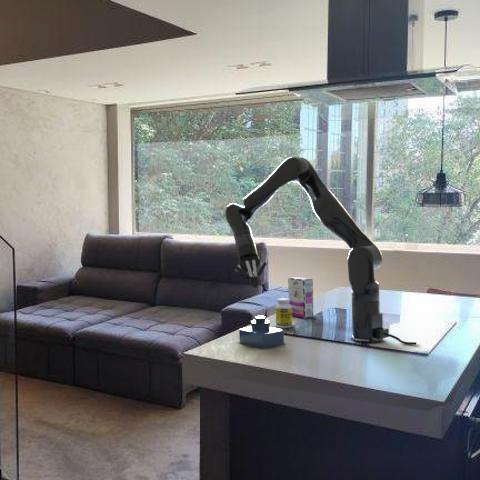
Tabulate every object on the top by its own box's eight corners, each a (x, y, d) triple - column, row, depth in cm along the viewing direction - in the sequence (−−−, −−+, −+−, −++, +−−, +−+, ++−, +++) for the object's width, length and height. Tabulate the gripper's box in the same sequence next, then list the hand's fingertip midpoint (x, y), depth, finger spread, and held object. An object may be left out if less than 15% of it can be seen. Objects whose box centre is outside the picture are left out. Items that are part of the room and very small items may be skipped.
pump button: (267, 322, 212) (267, 317, 212) (260, 324, 210) (259, 318, 210) (260, 321, 215) (260, 315, 215) (253, 322, 213) (253, 317, 213)
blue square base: (285, 343, 207) (285, 323, 207) (262, 349, 201) (262, 328, 201) (261, 337, 217) (260, 319, 217) (239, 342, 212) (238, 323, 211)
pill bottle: (280, 329, 231) (279, 300, 230) (273, 326, 237) (272, 298, 236) (295, 327, 232) (294, 299, 232) (287, 324, 238) (286, 297, 238)
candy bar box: (314, 317, 250) (313, 278, 248) (304, 318, 248) (303, 279, 246) (297, 313, 260) (296, 276, 259) (288, 314, 258) (287, 277, 257)
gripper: (230, 245, 230) (239, 285, 221) (263, 240, 230) (274, 280, 221) (228, 255, 236) (237, 293, 227) (261, 250, 237) (271, 289, 228)
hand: (255, 287), depth 224 cm, fingers closed
